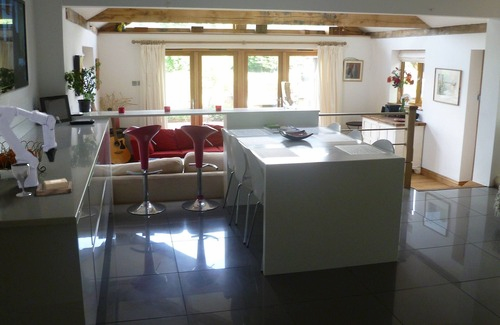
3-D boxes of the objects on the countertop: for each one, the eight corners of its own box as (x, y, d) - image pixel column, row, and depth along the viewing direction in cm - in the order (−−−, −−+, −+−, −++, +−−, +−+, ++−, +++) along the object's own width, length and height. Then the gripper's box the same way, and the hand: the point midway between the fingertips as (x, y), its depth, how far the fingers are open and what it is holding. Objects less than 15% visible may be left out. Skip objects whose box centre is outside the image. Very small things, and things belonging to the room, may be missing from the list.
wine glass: (13, 197, 235) (9, 167, 231) (16, 192, 242) (12, 163, 238) (31, 196, 237) (28, 165, 233) (33, 191, 244) (30, 162, 241)
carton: (47, 194, 240) (46, 184, 239) (45, 190, 246) (43, 180, 245) (68, 191, 245) (67, 181, 244) (65, 187, 251) (64, 178, 250)
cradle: (36, 195, 237) (36, 191, 237) (39, 187, 251) (38, 183, 250) (71, 192, 242) (71, 188, 241) (72, 184, 255) (72, 181, 255)
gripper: (46, 134, 269) (49, 158, 272) (36, 139, 255) (38, 165, 258) (59, 134, 269) (62, 158, 272) (49, 139, 255) (52, 165, 258)
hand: (51, 161), depth 265 cm, fingers closed
